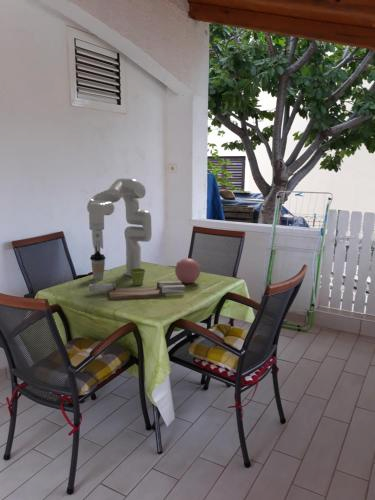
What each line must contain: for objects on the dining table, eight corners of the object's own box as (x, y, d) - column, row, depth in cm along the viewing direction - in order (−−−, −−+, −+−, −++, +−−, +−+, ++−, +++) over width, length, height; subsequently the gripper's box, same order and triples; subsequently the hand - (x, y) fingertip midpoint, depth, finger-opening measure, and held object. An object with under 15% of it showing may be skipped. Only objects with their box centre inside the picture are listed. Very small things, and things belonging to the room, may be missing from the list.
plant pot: (148, 284, 246) (148, 270, 244) (136, 287, 239) (136, 273, 237) (138, 280, 252) (138, 267, 250) (126, 283, 245) (126, 270, 243)
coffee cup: (109, 278, 256) (108, 255, 252) (98, 281, 248) (97, 257, 245) (98, 275, 261) (97, 252, 257) (87, 278, 253) (86, 255, 250)
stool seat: (108, 291, 230) (108, 283, 229) (179, 288, 240) (180, 280, 239) (110, 300, 217) (110, 291, 216) (185, 295, 227) (185, 287, 226)
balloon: (189, 276, 265) (190, 253, 262) (204, 284, 247) (205, 260, 244) (168, 278, 258) (168, 255, 255) (181, 287, 241) (181, 262, 237)
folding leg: (115, 288, 229) (115, 283, 229) (115, 289, 227) (115, 284, 226) (89, 289, 226) (88, 284, 225) (89, 291, 223) (88, 286, 223)
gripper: (105, 228, 206) (106, 263, 210) (103, 223, 219) (103, 256, 224) (90, 229, 203) (91, 264, 208) (88, 224, 217) (89, 257, 222)
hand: (97, 260), depth 216 cm, fingers closed
